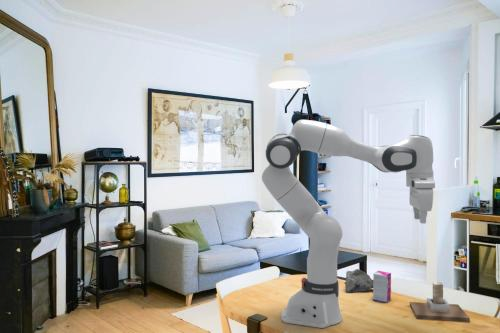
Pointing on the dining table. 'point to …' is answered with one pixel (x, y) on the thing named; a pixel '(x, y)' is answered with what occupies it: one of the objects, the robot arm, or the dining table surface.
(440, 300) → the birch stick
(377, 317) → the dining table surface
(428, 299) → the gray square dish
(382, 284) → the supplement box
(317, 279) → the robot arm
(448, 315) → the walnut board
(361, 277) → the mineral rock
